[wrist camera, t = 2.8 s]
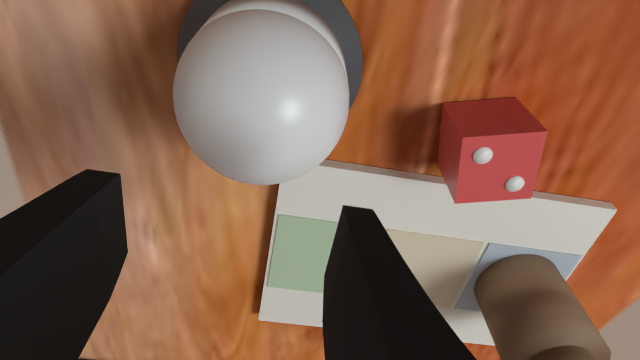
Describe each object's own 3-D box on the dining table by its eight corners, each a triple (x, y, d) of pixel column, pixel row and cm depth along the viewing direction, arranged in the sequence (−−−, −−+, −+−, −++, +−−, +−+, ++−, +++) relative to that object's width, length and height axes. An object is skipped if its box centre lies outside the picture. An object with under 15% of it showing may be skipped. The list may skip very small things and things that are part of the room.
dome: (329, 143, 18) (333, 231, 14) (194, 123, 18) (151, 207, 13) (359, 6, 15) (379, 59, 10) (197, -25, 14) (141, 17, 10)
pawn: (534, 314, 25) (597, 434, 19) (461, 306, 24) (505, 426, 19) (573, 259, 22) (658, 378, 17) (494, 248, 22) (555, 367, 16)
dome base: (341, 152, 19) (341, 159, 19) (181, 127, 18) (177, 134, 18) (381, -15, 15) (383, -12, 15) (181, -55, 15) (177, -52, 14)
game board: (513, 339, 27) (517, 349, 26) (259, 311, 25) (258, 321, 25) (610, 202, 21) (618, 211, 20) (284, 153, 19) (283, 161, 19)
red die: (503, 158, 19) (532, 199, 17) (437, 163, 20) (455, 204, 17) (515, 97, 18) (548, 132, 15) (442, 102, 18) (463, 138, 15)
